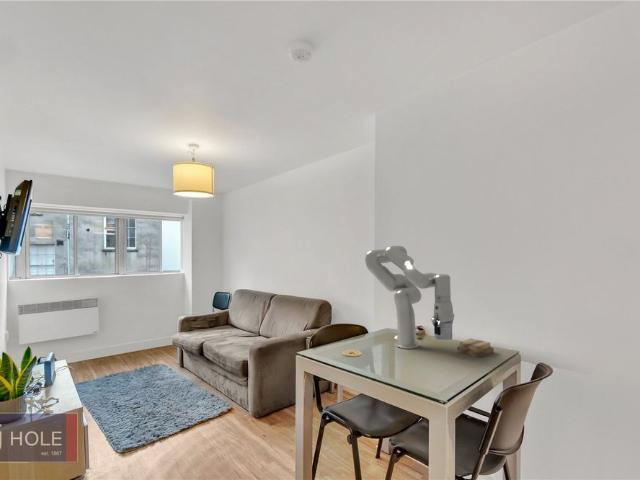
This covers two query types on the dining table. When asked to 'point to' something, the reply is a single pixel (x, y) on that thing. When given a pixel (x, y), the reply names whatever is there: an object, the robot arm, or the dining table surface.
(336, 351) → the dining table surface
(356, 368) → the dining table surface
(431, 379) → the dining table surface
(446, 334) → the medicine box
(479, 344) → the brown rock slab
